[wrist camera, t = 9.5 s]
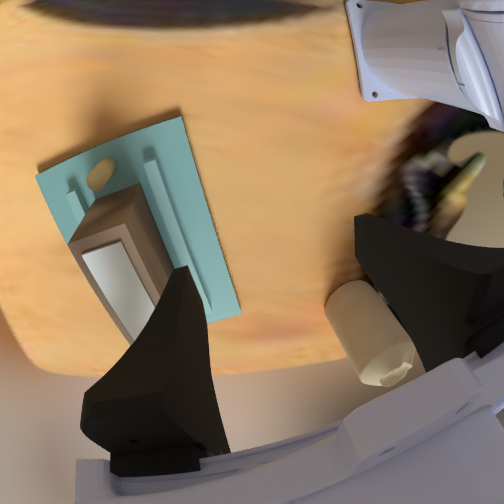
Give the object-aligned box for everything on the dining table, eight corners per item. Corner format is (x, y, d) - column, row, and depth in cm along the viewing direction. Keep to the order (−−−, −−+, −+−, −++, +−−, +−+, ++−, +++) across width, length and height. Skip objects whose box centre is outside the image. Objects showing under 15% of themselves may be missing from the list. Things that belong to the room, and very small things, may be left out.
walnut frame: (140, 182, 19) (124, 224, 13) (187, 295, 24) (191, 354, 19) (94, 199, 18) (66, 245, 13) (148, 306, 24) (144, 365, 19)
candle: (317, 297, 28) (362, 381, 20) (366, 269, 28) (424, 343, 19) (331, 328, 31) (371, 403, 23) (375, 304, 31) (423, 372, 22)
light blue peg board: (181, 115, 17) (180, 122, 14) (240, 309, 27) (248, 338, 24) (38, 173, 17) (15, 192, 14) (129, 338, 26) (126, 368, 23)
